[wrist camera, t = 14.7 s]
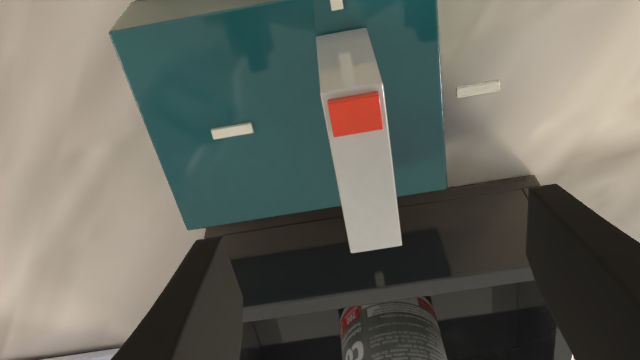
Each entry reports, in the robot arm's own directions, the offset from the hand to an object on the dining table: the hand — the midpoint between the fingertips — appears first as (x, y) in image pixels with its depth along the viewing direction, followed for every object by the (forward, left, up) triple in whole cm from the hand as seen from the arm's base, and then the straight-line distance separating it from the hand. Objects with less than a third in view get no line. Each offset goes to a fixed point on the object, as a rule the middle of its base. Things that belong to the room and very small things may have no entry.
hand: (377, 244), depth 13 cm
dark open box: (0, -13, -10) cm, 16 cm away
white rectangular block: (0, 0, -7) cm, 7 cm away
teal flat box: (-2, 0, -10) cm, 10 cm away
